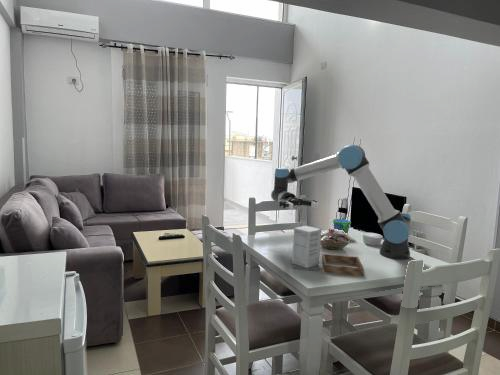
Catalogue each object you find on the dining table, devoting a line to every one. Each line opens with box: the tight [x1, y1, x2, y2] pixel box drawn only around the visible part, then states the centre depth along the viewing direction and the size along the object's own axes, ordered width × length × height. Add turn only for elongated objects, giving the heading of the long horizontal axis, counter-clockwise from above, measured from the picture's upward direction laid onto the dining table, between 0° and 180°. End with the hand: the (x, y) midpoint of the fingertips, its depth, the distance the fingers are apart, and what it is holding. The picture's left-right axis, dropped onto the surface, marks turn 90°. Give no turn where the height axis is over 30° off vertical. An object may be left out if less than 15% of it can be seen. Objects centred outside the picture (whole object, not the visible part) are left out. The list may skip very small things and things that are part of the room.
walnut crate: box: [321, 253, 365, 277], centre depth 174 cm, size 17×17×4 cm
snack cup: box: [332, 218, 352, 235], centre depth 232 cm, size 16×10×10 cm
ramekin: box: [362, 232, 384, 246], centre depth 221 cm, size 11×11×5 cm
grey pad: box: [291, 263, 320, 272], centre depth 176 cm, size 12×12×1 cm
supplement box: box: [291, 225, 322, 268], centre depth 174 cm, size 10×9×17 cm
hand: (305, 206), depth 179 cm, fingers open, 13 cm apart
